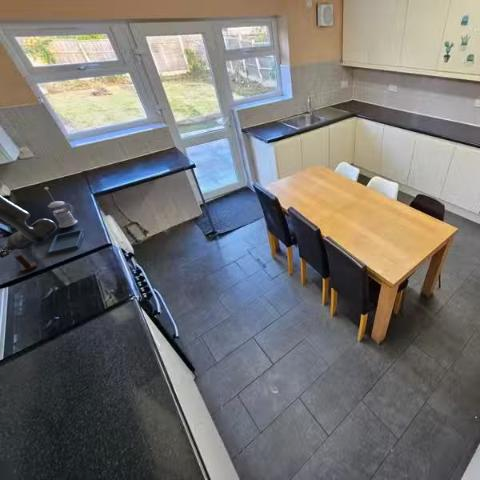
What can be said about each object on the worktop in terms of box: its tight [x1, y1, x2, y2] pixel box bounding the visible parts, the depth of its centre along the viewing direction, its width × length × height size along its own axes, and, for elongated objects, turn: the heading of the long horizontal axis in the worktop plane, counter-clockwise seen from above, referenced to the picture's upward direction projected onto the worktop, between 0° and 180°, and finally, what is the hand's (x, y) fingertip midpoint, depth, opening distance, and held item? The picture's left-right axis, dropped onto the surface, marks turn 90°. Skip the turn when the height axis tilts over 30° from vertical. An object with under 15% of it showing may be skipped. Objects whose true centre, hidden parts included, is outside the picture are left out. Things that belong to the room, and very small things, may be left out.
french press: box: [43, 186, 79, 228], centre depth 168 cm, size 10×12×25 cm
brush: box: [13, 253, 38, 273], centre depth 138 cm, size 5×4×11 cm
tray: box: [46, 228, 86, 256], centre depth 158 cm, size 18×14×2 cm
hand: (8, 247), depth 127 cm, fingers open, 8 cm apart
